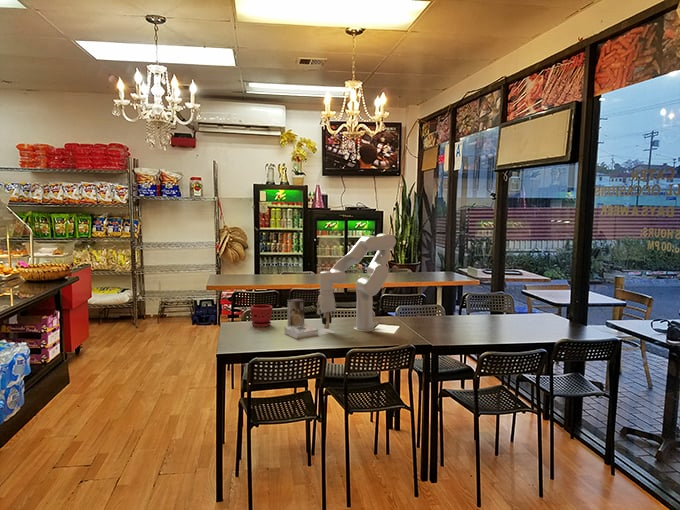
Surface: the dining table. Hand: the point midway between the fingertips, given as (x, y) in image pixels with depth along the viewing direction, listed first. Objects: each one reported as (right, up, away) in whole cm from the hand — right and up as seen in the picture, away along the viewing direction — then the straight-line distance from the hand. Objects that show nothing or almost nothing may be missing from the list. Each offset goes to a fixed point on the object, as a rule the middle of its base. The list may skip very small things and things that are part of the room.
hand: (326, 323), depth 273 cm
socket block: (-15, -6, -5) cm, 16 cm away
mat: (-2, -5, +1) cm, 6 cm away
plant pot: (-40, -3, +14) cm, 43 cm away
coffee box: (-19, -4, +14) cm, 24 cm away
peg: (0, -3, 0) cm, 3 cm away
